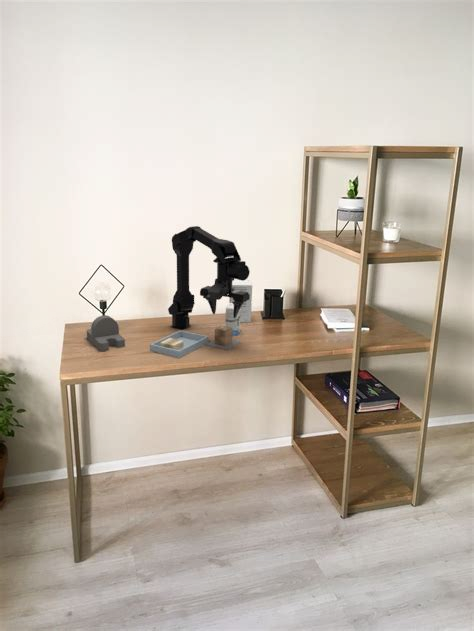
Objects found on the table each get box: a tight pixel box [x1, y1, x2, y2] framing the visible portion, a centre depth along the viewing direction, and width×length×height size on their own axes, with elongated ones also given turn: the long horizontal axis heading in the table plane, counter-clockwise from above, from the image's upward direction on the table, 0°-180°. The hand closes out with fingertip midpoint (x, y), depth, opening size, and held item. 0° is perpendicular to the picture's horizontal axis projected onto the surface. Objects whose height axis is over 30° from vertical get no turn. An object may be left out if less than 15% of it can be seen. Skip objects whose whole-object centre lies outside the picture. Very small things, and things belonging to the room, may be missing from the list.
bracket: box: [86, 314, 126, 353], centre depth 213 cm, size 10×18×11 cm, turn 31°
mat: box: [205, 339, 242, 351], centre depth 215 cm, size 10×10×1 cm
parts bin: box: [149, 329, 210, 359], centre depth 210 cm, size 13×19×3 cm
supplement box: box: [228, 279, 253, 323], centre depth 245 cm, size 10×9×17 cm
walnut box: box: [214, 325, 234, 346], centre depth 214 cm, size 5×5×6 cm
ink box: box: [225, 303, 242, 336], centre depth 227 cm, size 8×5×12 cm, turn 168°
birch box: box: [160, 338, 183, 350], centre depth 206 cm, size 6×6×4 cm
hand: (224, 315), depth 212 cm, fingers open, 9 cm apart
